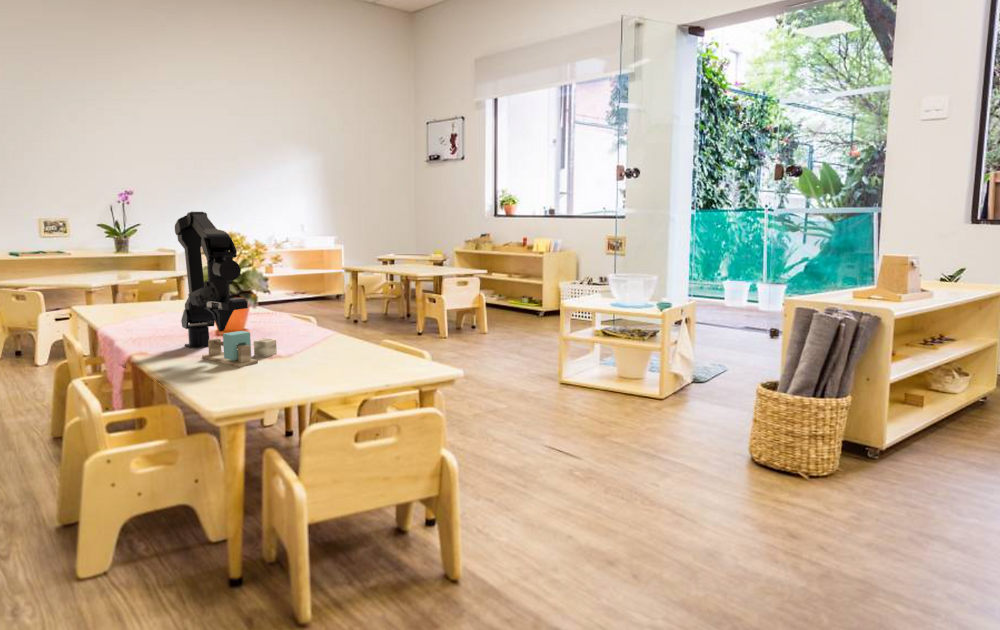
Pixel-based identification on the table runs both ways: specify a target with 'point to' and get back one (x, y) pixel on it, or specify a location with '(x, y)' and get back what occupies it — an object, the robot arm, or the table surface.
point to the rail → (218, 356)
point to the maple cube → (265, 347)
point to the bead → (235, 343)
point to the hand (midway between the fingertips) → (221, 331)
